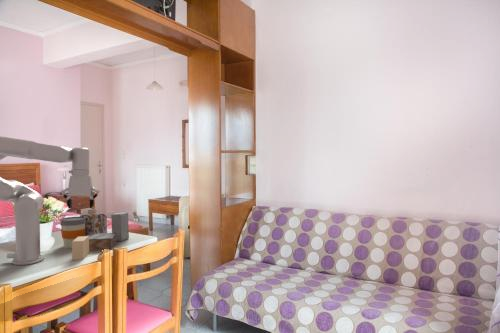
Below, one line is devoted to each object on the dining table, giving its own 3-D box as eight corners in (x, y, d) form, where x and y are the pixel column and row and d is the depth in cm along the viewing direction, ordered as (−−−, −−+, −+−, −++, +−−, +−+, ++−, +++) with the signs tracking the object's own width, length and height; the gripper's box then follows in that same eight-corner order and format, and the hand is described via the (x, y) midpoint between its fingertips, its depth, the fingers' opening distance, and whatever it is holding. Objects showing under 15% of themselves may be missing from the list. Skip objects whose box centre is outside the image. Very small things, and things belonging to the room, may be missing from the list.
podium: (81, 250, 174) (81, 239, 174) (88, 244, 187) (88, 233, 187) (112, 249, 177) (112, 238, 177) (116, 243, 190) (116, 232, 190)
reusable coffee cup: (91, 243, 190) (90, 217, 189) (75, 249, 177) (75, 221, 177) (71, 242, 192) (71, 216, 192) (55, 247, 180) (54, 220, 180)
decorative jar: (76, 241, 194) (76, 210, 193) (90, 236, 205) (90, 207, 205) (94, 242, 191) (94, 211, 190) (107, 237, 202) (107, 208, 202)
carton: (83, 259, 160) (83, 241, 160) (72, 260, 159) (71, 241, 159) (89, 253, 170) (88, 236, 170) (78, 254, 169) (78, 236, 169)
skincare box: (121, 241, 193) (121, 214, 193) (110, 241, 195) (110, 214, 194) (129, 238, 202) (129, 212, 201) (119, 237, 203) (118, 211, 203)
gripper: (58, 173, 158) (58, 209, 158) (97, 173, 162) (97, 208, 162) (63, 172, 165) (63, 206, 166) (101, 172, 169) (101, 206, 170)
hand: (80, 207), depth 164 cm, fingers open, 9 cm apart
